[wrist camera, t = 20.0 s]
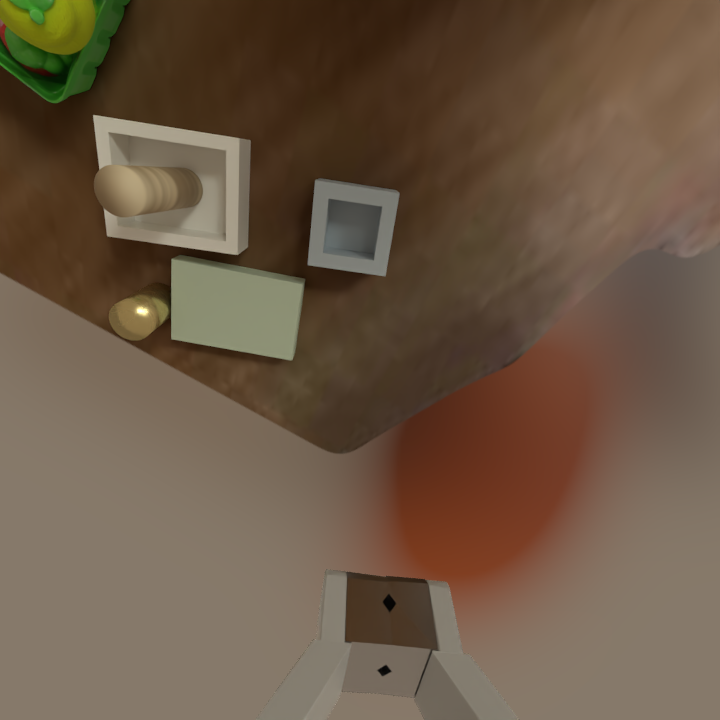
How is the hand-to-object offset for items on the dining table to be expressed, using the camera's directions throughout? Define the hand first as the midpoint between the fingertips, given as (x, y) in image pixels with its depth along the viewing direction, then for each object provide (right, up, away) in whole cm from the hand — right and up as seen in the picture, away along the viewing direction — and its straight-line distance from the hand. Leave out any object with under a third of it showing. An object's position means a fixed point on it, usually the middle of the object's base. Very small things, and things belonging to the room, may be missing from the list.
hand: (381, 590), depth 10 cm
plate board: (-13, +11, +32) cm, 36 cm away
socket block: (-1, +18, +28) cm, 33 cm away
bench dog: (-20, +12, +31) cm, 39 cm away
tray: (-16, +21, +27) cm, 37 cm away
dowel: (-16, +21, +26) cm, 37 cm away
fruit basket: (-21, +32, +22) cm, 44 cm away
